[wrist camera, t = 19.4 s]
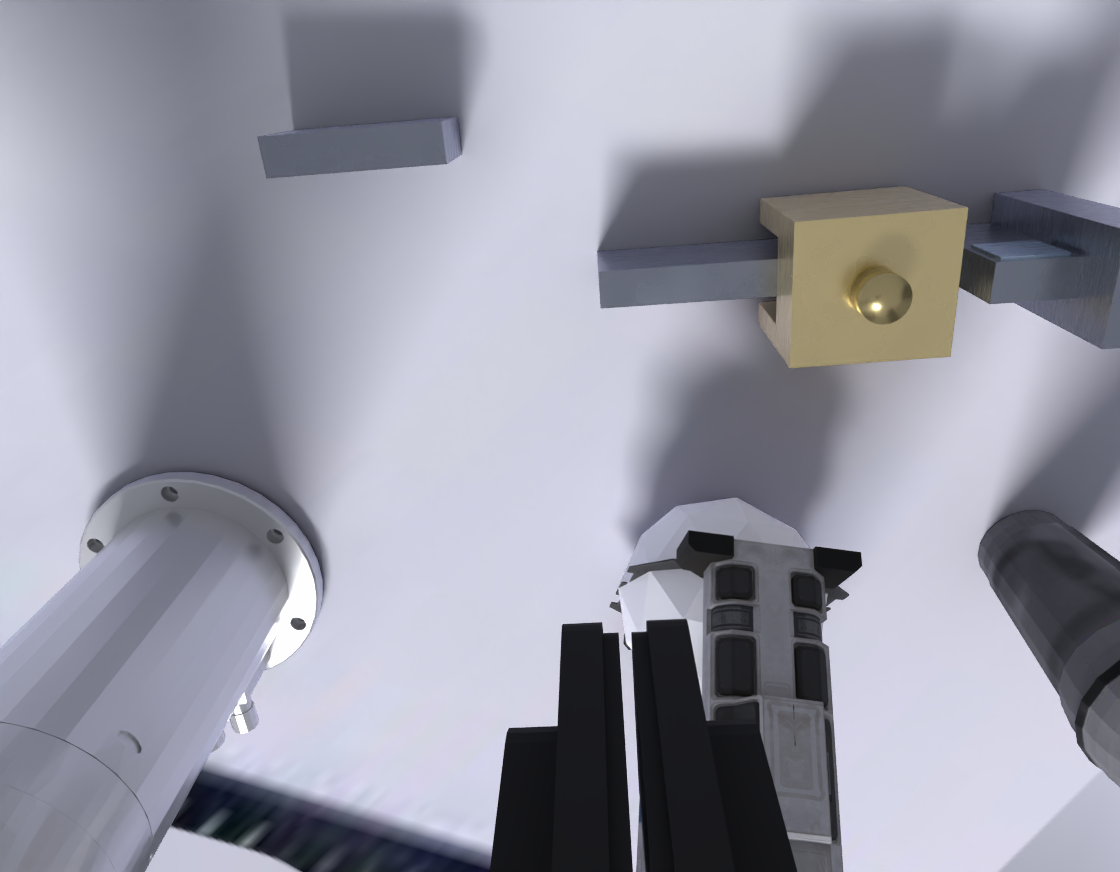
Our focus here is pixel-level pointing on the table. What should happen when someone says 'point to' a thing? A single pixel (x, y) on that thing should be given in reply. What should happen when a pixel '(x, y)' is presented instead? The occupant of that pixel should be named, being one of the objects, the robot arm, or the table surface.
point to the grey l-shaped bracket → (987, 272)
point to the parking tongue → (360, 147)
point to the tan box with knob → (863, 276)
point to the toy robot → (753, 646)
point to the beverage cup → (1064, 619)
